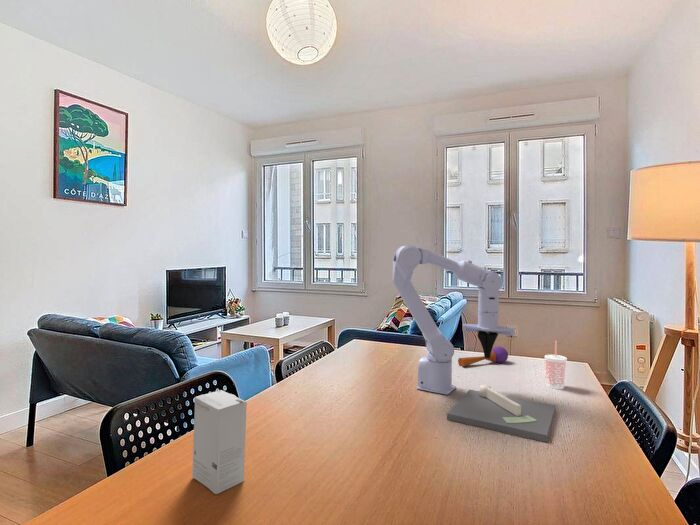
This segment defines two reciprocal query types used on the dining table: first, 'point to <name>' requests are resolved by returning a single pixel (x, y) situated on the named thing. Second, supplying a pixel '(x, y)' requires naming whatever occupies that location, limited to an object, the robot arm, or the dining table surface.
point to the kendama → (497, 355)
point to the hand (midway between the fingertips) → (487, 357)
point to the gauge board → (504, 416)
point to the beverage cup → (555, 370)
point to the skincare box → (219, 440)
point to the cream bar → (500, 399)
